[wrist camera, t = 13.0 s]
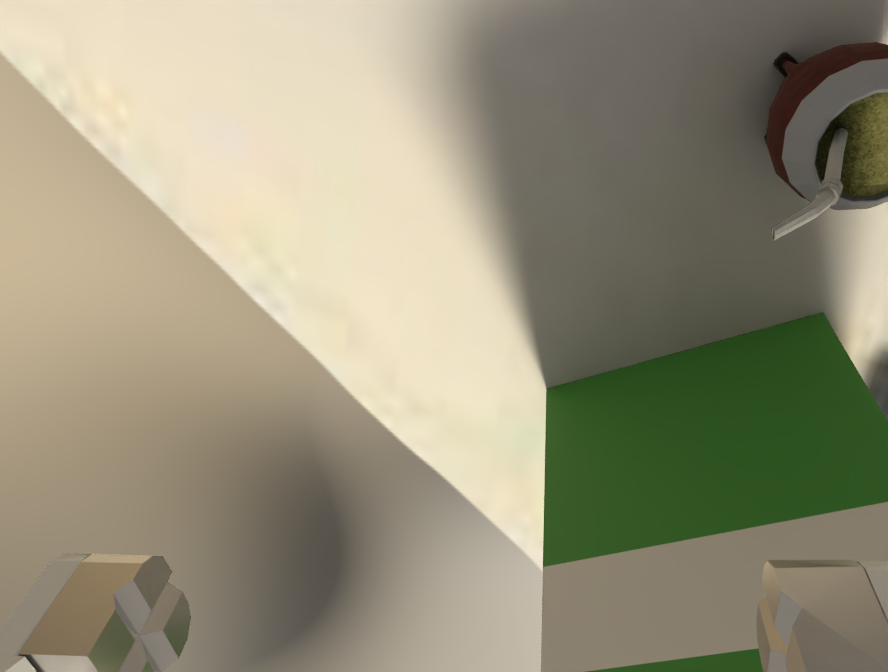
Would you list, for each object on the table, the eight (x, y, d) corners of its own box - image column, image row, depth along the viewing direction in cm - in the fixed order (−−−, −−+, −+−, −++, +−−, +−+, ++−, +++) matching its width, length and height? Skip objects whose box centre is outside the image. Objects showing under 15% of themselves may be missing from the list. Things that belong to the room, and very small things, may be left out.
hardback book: (822, 312, 43) (1050, 695, 23) (842, 403, 46) (1057, 806, 26) (546, 388, 49) (539, 746, 29) (582, 464, 52) (597, 831, 32)
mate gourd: (925, 88, 35) (1122, 208, 23) (790, 200, 39) (897, 353, 27) (828, -16, 34) (987, 54, 21) (697, 112, 38) (766, 235, 25)
